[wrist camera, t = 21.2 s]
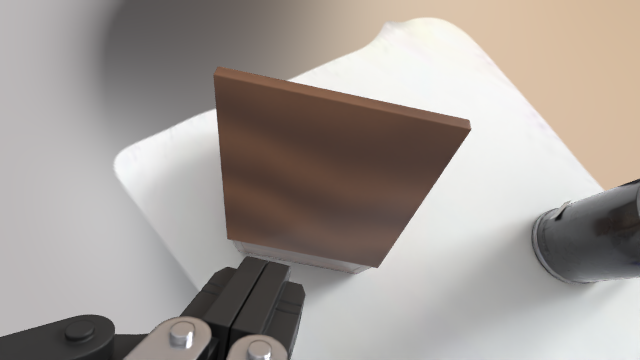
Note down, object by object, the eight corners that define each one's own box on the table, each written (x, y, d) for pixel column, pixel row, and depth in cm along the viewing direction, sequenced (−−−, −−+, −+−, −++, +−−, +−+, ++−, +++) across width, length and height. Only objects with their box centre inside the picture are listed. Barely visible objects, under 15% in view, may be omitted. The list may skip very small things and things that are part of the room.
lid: (217, 65, 19) (212, 74, 19) (470, 119, 20) (472, 129, 19) (229, 231, 33) (227, 239, 32) (378, 260, 33) (377, 268, 33)
